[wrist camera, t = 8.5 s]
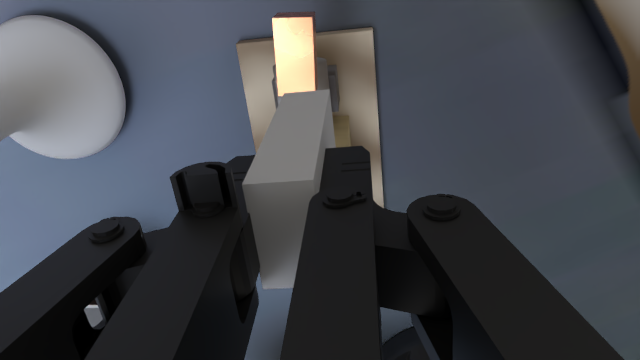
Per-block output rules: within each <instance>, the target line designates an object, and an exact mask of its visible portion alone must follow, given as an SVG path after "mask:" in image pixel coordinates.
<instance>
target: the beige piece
mask: <svg viewBox="0 0 640 360" xmlns="http://www.w3.org/2000/svg"><path fill="white" fill-rule="evenodd" d="M236 47H237V53H238V58H239V63H240V69H241V74H242V80H243V85H244V91H245V96H246V101H247V107H248V112H249V118H250V123H251V128H252V134H253V139H254V145H255V150H256V153H257V151H258V149H259V146H260V144H261V142H262V140H263V138H264V136H265V133H266V131H267V129H268V127H269V125H270V123H271V120H272V118H273V116H274V114H275V112H276V110H277V107H278V105H279V103H280V101H281V99H282V97H283V96H278V86H277V73H276V60H275V47H274V37H271V38H261V39H251V40H242V41H239V42H238V43H236ZM316 50H317V75H318V87H317V90H327V89H330V98H331V108H332V117H333V127H334V136H335V146H336V148H337V147H350V146H363V147H364V148H365V149H366V150H368V151H369V152H370V161H371V175H372V189H373V200H374V201H375V202H376V203H377V205H379V206H381V207H382V208H384V202H383V186H382V170H381V154H380V138H379V122H378V106H377V90H376V74H375V57H374V41H373V28H372V27H368V28H359V29H349V30H339V31H329V32H320V33H316Z"/></svg>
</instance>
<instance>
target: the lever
mask: <svg viewBox="0 0 640 360" xmlns="http://www.w3.org/2000/svg"><path fill="white" fill-rule="evenodd" d="M272 21H273V34H274V47H275V60H276V73H277V86H278V96H283V94H284V93H294V92H305V91H316V90H317V87H318V75H317V50H316V24H315V12H288V13H277V14H276V15H275V16H274V17H273V18H272Z"/></svg>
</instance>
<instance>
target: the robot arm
mask: <svg viewBox="0 0 640 360" xmlns="http://www.w3.org/2000/svg"><path fill="white" fill-rule="evenodd" d="M170 180H171V183H172V187H173V191H174V195H175V198H176V202H177V206H178V209H179V212H178V214H177V215H176V217H175V218H174V220H173V221H172V223H171V225H170V226H169V227H168V228H165V229H161V230H156V231H152V232H148V233H143V231H142V228H141V225H140V223H139V222H138V221H137V220H136V219H135V218H130V217H111V218H110V219H109V218H107V219H103V220H101V221H100V222H98V223H95V224H93V225H91V226H89V227H88V228H86V229H84V230H83V231H81V232H80V233H79V234H77V235H76V236H75V237H73V238H72V239H71V240H69V241H68V242H67V243H65V244H64V245H63V246H61V247H60V248H59V249H57V250H56V251H55V252H54V253H52V254H51V255H50V256H48V257H47V258H46V259H44V260H43V261H42V262H40V263H39V264H38V265H36V266H35V267H34V268H32V269H31V270H30V271H29V272H27V273H26V274H25V275H23V276H22V277H21V278H19V279H18V280H17V281H15V282H14V283H13V284H11V285H10V286H9V287H7V288H6V289H5V290H4V291H2V292H1V293H0V360H244V358H245V354H246V350H247V346H248V342H249V339H250V335H251V331H252V327H253V323H254V320H255V316H256V312H257V308H258V304H259V300H258V293H257V288H256V280H257V277H258V273H259V272H260V277H261V282H262V287H263V289H280V288H293V292H292V298H291V303H290V308H289V314H288V319H287V325H286V330H285V335H284V341H283V346H282V351H281V357H280V360H624V359H623V358H622V357H621V356H620V355H619V354H618V353H617V352H616V351H615V350H614V349H613V348H612V347H611V346H610V345H609V343H608V342H607V341H606V340H605V339H604V338H603V337H602V336H601V335H600V334H599V333H598V332H597V331H596V330H595V329H594V328H593V327H592V326H591V325H590V324H589V323H588V322H587V321H586V320H585V319H584V318H583V317H582V316H581V315H580V314H579V312H578V311H577V310H576V309H575V308H574V307H573V306H572V305H571V304H570V303H569V302H568V301H567V300H566V299H565V298H564V297H563V296H562V295H561V294H560V293H559V292H558V291H557V290H556V289H555V288H554V287H553V286H552V285H551V284H550V282H549V281H548V280H547V279H546V278H545V277H544V276H543V275H542V274H541V273H540V272H539V271H538V270H537V269H536V268H535V267H534V266H533V265H532V264H531V263H530V262H529V261H528V260H527V259H526V258H525V257H524V256H523V255H522V254H521V253H520V251H519V250H518V249H517V248H516V247H515V246H514V245H513V244H512V243H511V242H510V241H509V240H508V239H507V238H506V237H505V236H504V235H503V234H502V233H501V232H500V231H499V230H498V229H497V228H496V227H495V226H494V225H493V224H492V223H491V222H490V220H489V219H488V218H487V217H486V216H485V215H484V214H483V213H482V212H481V211H480V210H479V209H478V208H477V207H476V206H475V205H474V204H472V203H471V202H469V201H468V200H466V199H464V198H461V197H457V196H454V195H449V194H447V195H445V194H437V195H429V196H426V197H422V198H419V199H417V200H415V201H414V202H412V203H411V204H410V205H409V207H408V209H407V213H400V212H395V211H390V210H387V209H385V208H382V207H381V206H379V205H377V203H376V202H375V201H374V200H373V189H372V175H371V161H370V152H369V151H368V150H366V149H365V148H364V147H363V146H350V147H337V148H336V146H335V136H334V127H333V117H332V108H331V98H330V89H327V90H316V91H305V92H294V93H284V94H283V97H282V99H281V101H280V103H279V105H278V107H277V110H276V112H275V114H274V116H273V118H272V120H271V123H270V125H269V127H268V129H267V131H266V133H265V136H264V138H263V140H262V142H261V144H260V146H259V149H258V151H257V153H256V155H251V156H238V157H235V158H233V159H232V160H231V161H229V162H228V163H222V162H204V163H197V164H194V165H191V166H187V167H185V168H183V169H181V170H179V171H176V172H175V173H174V174H173V175H172V176H170ZM94 299H95V300H96V303H97V305H98V308H99V310H100V313H101V315H102V318H103V319H102V321H101V322H100V323H99V324H97V325H96V326H94V327H92V326H91V325H90V323H89V321H88V318H87V316H86V313H85V311H84V309H85V308H86V307H87V306H88V305H89V304H90V303H91V302H92V301H93V300H94ZM380 307H384V308H388V309H393V310H398V311H403V312H408V313H411V318H412V323H413V325H414V327H413V328H411V329H408V330H406V331H404V332H402V333H400V334H398V335H396V336H395V337H393V338H392V339H390V340H389V341H388V342H387V343H386V344H385V345H383V347H382V334H381V312H380Z"/></svg>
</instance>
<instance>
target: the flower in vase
mask: <svg viewBox="0 0 640 360" xmlns="http://www.w3.org/2000/svg"><path fill="white" fill-rule="evenodd" d="M125 111H126V100H125V93H124V89H123V85H122V81H121V79H120V76H119V74H118V72H117V70H116V68H115V66H114V64H113V63H112V61H111V60H110V58H109V57H108V55H107V54H106V53H105V52H104V51H103V49H102V48H101V47H100V46H99V45H98V44H97V43H96V42H95V41H94V40H93V39H92V38H90V37H89V36H88V35H87V34H85V33H84V32H83V31H81V30H79V29H78V28H76V27H74V26H73V25H70V24H68V23H66V22H64V21H61V20H58V19H55V18H52V17H47V16H40V15H27V16H20V17H16V18H13V19H10V20H8V21H6V22H4V23H2V24H1V25H0V141H1V140H3V139H4V138H6V137H7V136H10V137H11V138H12V139H14V140H15V141H16V142H18V143H19V144H21V145H22V146H24V147H26V148H28V149H29V150H31V151H34V152H36V153H38V154H41V155H44V156H48V157H52V158H58V159H75V158H82V157H87V156H91V155H93V154H96V153H98V152H100V151H102V150H103V149H105V148H106V147H108V146H109V145H110V144H111V143H112V142H113V141H114V140H115V138H116V137H117V135H118V134H119V132H120V130H121V128H122V125H123V122H124V118H125Z"/></svg>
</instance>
